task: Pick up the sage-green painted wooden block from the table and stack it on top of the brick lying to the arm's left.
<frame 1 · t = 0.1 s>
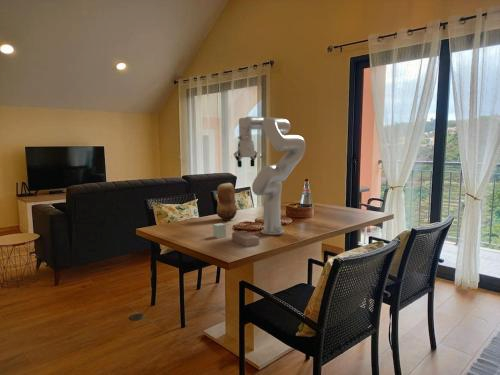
hand: (246, 166, 228), 37 cm above the table, tool pointing down, fingers open, 9 cm apart
brick: (245, 243, 194), on the table
block: (219, 236, 207), on the table
brown oblong lump: (227, 220, 251), on the table
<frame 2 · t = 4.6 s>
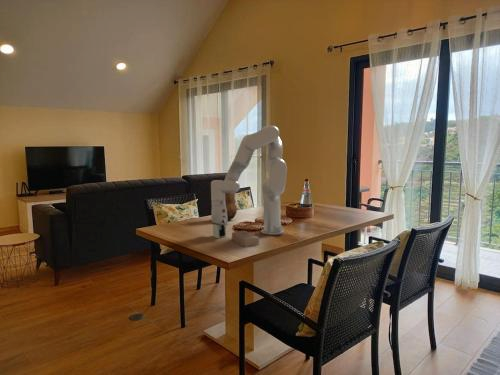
hand: (219, 235, 207), 1 cm above the table, tool pointing down, fingers closed on block, 5 cm apart
block: (219, 236, 207), on the table, touching gripper
everything else where it was.
when the fingers open (7 cm above the table, at t = 10.6 s): block drops 2 cm, resting on brick.
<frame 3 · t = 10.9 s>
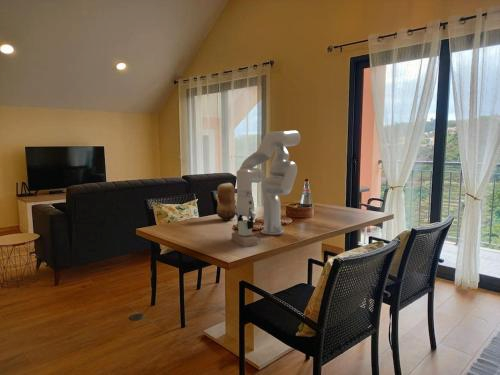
hand: (245, 227, 193), 8 cm above the table, tool pointing down, fingers open, 8 cm apart
brick: (244, 243, 194), on the table, touching block
block: (245, 234, 193), point 4 cm above the table, touching brick
everything else where it was.
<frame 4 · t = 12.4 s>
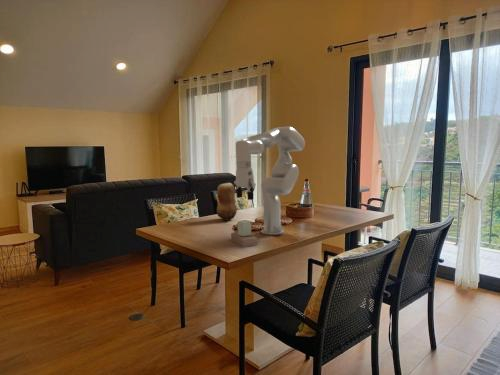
hand: (245, 198, 191), 23 cm above the table, tool pointing down, fingers open, 9 cm apart
nothing on the table moved.
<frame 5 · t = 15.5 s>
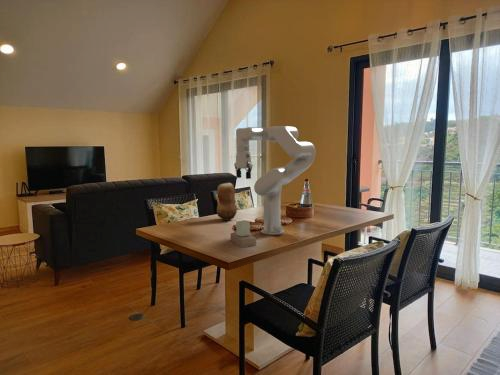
hand: (243, 178, 223), 30 cm above the table, tool pointing down, fingers open, 9 cm apart
at the end: block inside the target area on the brick (0.2 cm from its centre), point 4.8 cm above the brick's base; block tilted 0°; block touching brick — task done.
